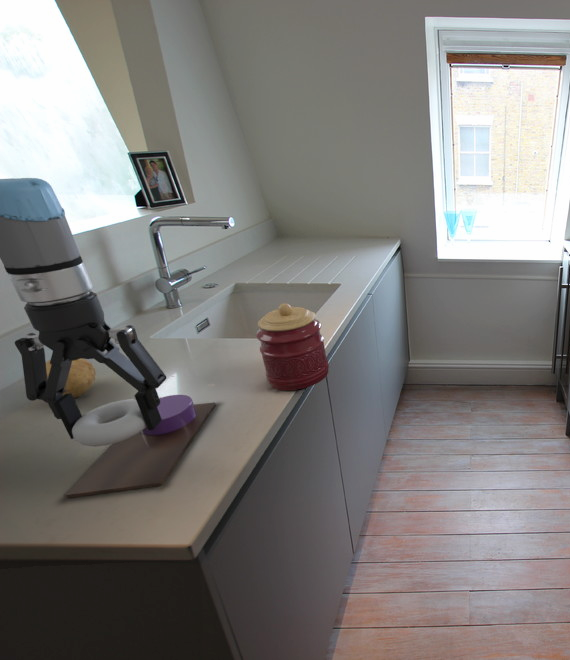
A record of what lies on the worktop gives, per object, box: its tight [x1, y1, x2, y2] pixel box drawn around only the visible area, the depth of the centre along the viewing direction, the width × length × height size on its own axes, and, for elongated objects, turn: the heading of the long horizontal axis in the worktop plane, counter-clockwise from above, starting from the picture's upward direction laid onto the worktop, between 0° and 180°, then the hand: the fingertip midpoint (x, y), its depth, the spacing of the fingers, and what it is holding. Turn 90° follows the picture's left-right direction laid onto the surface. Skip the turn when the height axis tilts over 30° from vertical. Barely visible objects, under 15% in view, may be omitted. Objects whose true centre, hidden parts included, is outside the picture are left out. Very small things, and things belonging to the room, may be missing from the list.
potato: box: [46, 358, 97, 399], centre depth 92 cm, size 10×14×8 cm
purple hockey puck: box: [141, 394, 196, 435], centre depth 84 cm, size 9×9×3 cm
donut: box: [72, 398, 147, 447], centre depth 70 cm, size 10×3×10 cm
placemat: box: [65, 402, 217, 499], centre depth 79 cm, size 13×23×1 cm, turn 11°
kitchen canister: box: [255, 302, 330, 391], centre depth 97 cm, size 13×13×18 cm
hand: (117, 429), depth 70 cm, fingers closed on donut, 10 cm apart
